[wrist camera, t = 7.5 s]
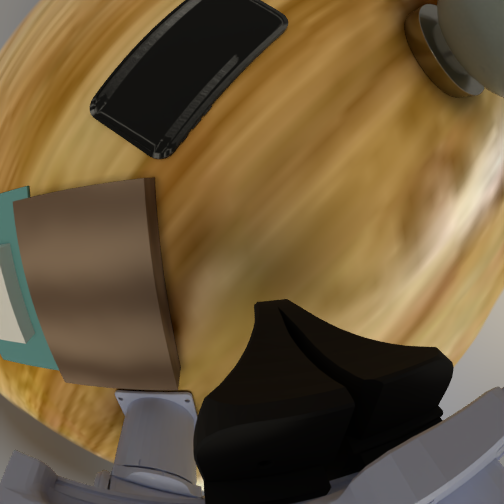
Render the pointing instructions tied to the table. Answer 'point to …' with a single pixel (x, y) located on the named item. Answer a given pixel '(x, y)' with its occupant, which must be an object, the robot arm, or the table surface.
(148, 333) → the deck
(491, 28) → the lamp
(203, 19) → the phone
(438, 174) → the table surface
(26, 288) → the mat
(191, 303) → the table surface
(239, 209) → the table surface
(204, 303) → the table surface
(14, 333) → the white rectangular block
